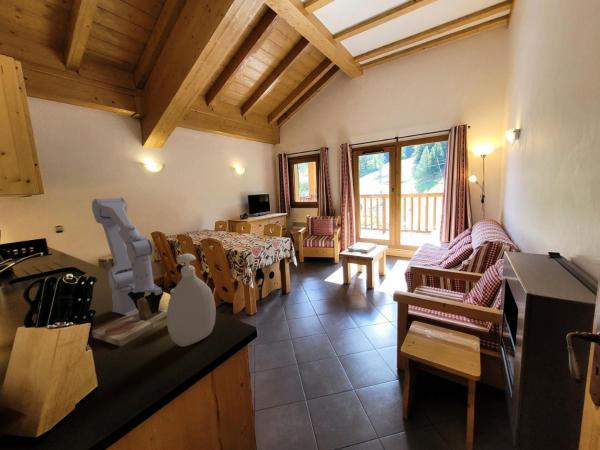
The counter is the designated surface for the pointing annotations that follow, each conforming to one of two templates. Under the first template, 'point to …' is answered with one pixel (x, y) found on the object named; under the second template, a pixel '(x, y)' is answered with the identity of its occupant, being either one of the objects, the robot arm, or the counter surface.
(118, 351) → the counter surface
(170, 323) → the soap bottle
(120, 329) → the holder board
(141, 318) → the walnut block
